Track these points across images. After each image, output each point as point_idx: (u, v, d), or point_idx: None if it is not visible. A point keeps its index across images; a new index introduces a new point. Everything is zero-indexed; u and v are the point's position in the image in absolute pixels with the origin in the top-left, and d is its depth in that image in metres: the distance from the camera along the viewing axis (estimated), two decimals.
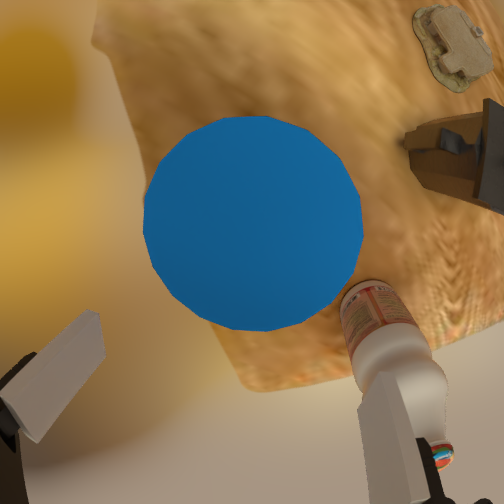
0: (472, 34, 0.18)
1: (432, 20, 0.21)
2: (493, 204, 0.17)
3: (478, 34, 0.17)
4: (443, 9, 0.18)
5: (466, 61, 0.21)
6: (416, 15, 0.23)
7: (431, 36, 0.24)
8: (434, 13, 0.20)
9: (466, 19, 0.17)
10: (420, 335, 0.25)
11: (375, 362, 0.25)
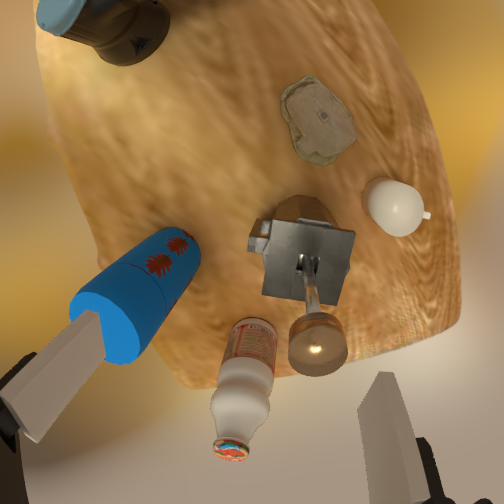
0: (319, 119, 0.34)
1: (287, 107, 0.37)
2: (279, 296, 0.34)
3: (323, 120, 0.33)
4: (294, 96, 0.34)
5: (318, 145, 0.37)
6: (281, 97, 0.39)
7: None
8: (288, 100, 0.36)
9: (313, 104, 0.33)
10: (257, 367, 0.42)
11: (221, 380, 0.42)
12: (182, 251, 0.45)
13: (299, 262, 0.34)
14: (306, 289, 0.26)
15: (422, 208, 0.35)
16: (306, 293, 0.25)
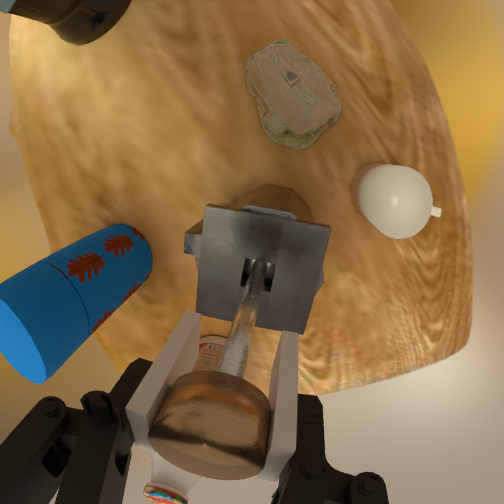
0: (286, 82, 0.24)
1: (248, 75, 0.27)
2: (219, 317, 0.23)
3: (290, 81, 0.23)
4: (254, 58, 0.25)
5: (288, 118, 0.28)
6: (245, 67, 0.30)
7: None
8: (248, 66, 0.26)
9: (277, 64, 0.23)
10: None
11: None
12: (123, 252, 0.35)
13: (251, 270, 0.24)
14: (236, 314, 0.16)
15: (430, 201, 0.25)
16: (233, 322, 0.15)
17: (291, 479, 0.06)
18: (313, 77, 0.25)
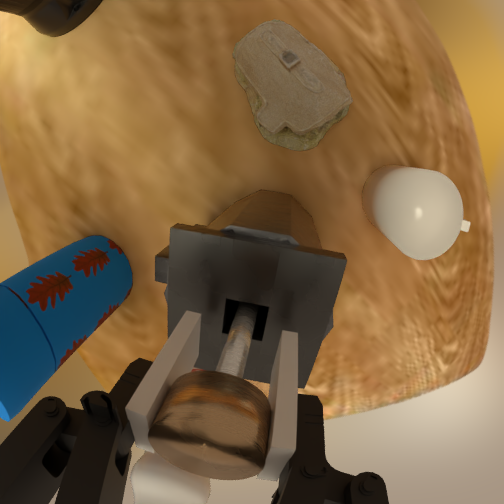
0: (283, 66, 0.18)
1: (236, 61, 0.22)
2: (198, 367, 0.18)
3: (288, 64, 0.17)
4: (243, 39, 0.19)
5: (287, 112, 0.22)
6: (233, 54, 0.24)
7: None
8: (236, 50, 0.20)
9: (270, 44, 0.17)
10: None
11: None
12: (96, 270, 0.29)
13: None
14: (236, 314, 0.16)
15: (461, 213, 0.19)
16: (233, 322, 0.15)
17: (291, 479, 0.06)
18: (317, 60, 0.19)
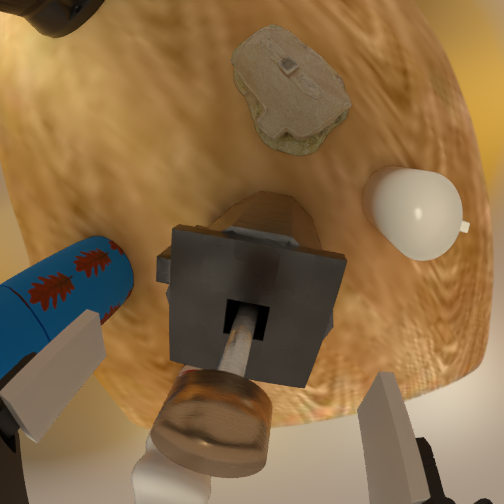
0: (282, 72, 0.19)
1: (235, 68, 0.22)
2: (199, 366, 0.18)
3: (287, 71, 0.18)
4: (241, 46, 0.19)
5: (287, 118, 0.22)
6: (232, 60, 0.24)
7: None
8: (234, 57, 0.21)
9: (269, 50, 0.18)
10: None
11: (147, 448, 0.25)
12: (97, 271, 0.29)
13: None
14: (237, 314, 0.16)
15: (460, 214, 0.20)
16: (234, 322, 0.15)
17: None
18: (315, 65, 0.19)
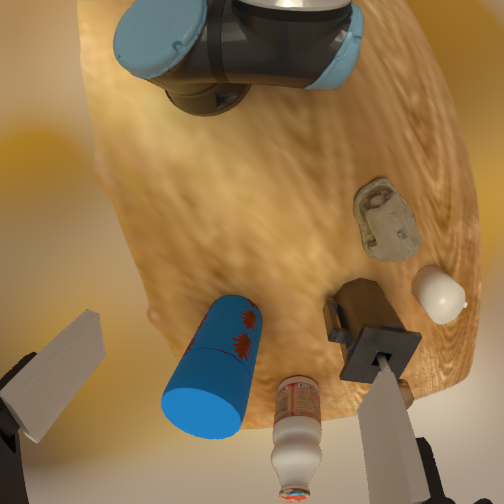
0: (398, 236, 0.37)
1: (366, 217, 0.41)
2: (353, 380, 0.36)
3: (402, 239, 0.36)
4: (376, 211, 0.38)
5: (390, 253, 0.41)
6: (356, 200, 0.43)
7: None
8: (368, 212, 0.40)
9: (395, 224, 0.37)
10: (312, 425, 0.44)
11: (280, 436, 0.43)
12: (254, 326, 0.47)
13: None
14: (379, 357, 0.34)
15: (463, 302, 0.38)
16: (380, 360, 0.33)
17: None
18: (411, 226, 0.38)
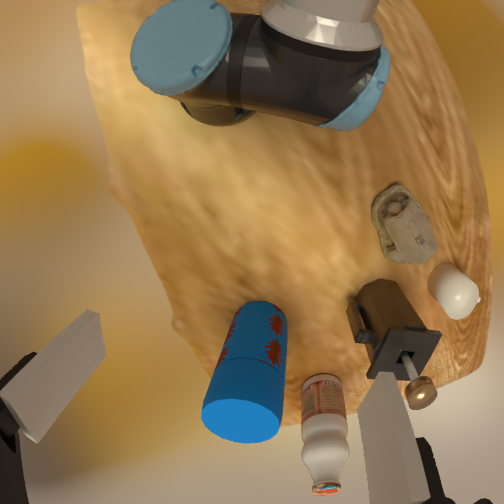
0: (416, 242, 0.38)
1: (385, 225, 0.41)
2: None
3: (420, 245, 0.37)
4: (395, 219, 0.39)
5: (409, 257, 0.42)
6: (374, 208, 0.44)
7: None
8: (387, 220, 0.40)
9: (413, 231, 0.37)
10: (339, 421, 0.45)
11: (310, 434, 0.44)
12: (282, 331, 0.48)
13: None
14: (403, 356, 0.35)
15: (477, 297, 0.39)
16: (404, 359, 0.34)
17: None
18: (427, 231, 0.39)
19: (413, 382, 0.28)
